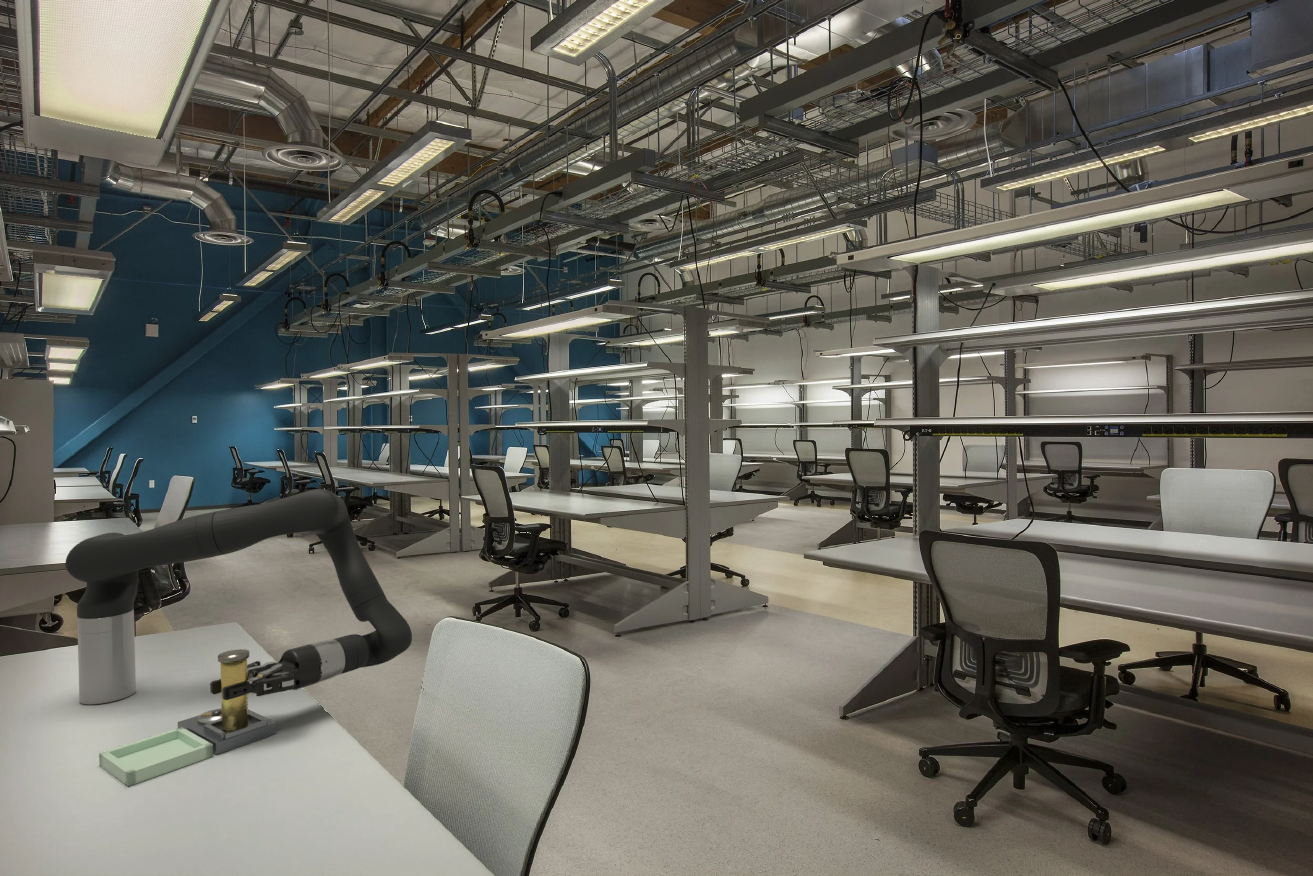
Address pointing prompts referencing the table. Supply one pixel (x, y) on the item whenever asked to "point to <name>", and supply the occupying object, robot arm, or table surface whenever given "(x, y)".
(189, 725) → the crank deck
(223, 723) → the pin
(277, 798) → the table surface
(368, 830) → the table surface
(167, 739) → the tray
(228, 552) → the robot arm
